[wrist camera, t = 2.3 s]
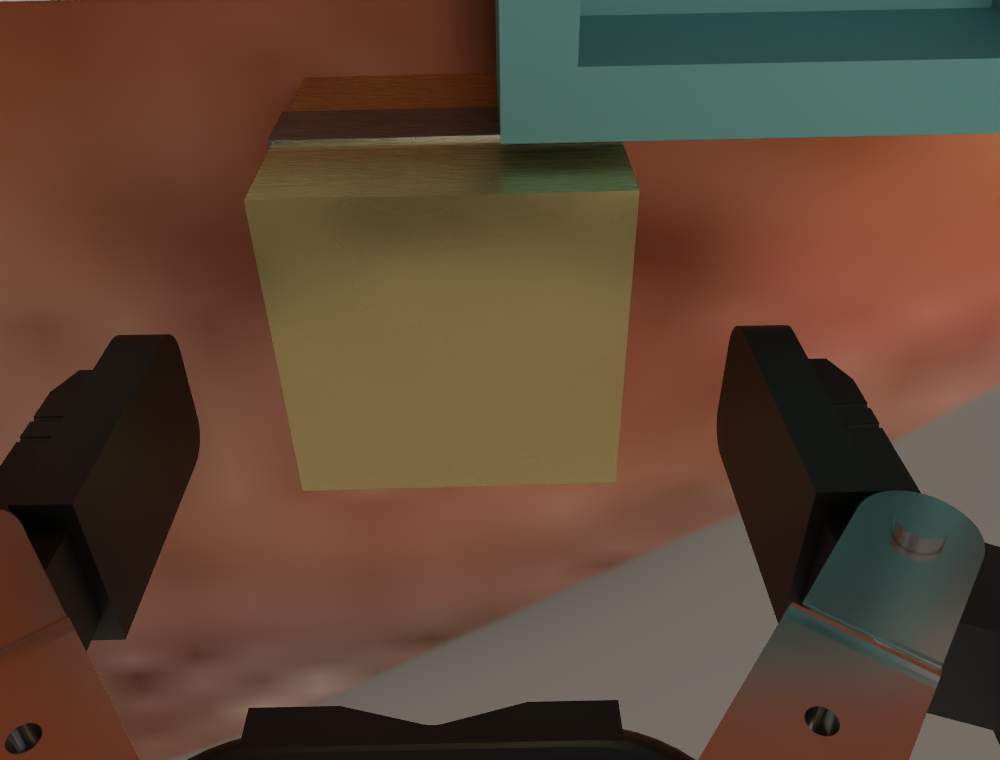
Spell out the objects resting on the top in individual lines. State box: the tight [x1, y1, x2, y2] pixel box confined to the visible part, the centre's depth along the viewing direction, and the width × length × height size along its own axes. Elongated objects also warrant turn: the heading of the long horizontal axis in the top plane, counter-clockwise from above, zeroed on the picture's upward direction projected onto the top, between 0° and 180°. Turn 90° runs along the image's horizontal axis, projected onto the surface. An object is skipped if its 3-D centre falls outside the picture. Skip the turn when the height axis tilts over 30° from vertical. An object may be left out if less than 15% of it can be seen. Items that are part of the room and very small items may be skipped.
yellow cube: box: [244, 73, 640, 491], centre depth 15 cm, size 5×5×5 cm
